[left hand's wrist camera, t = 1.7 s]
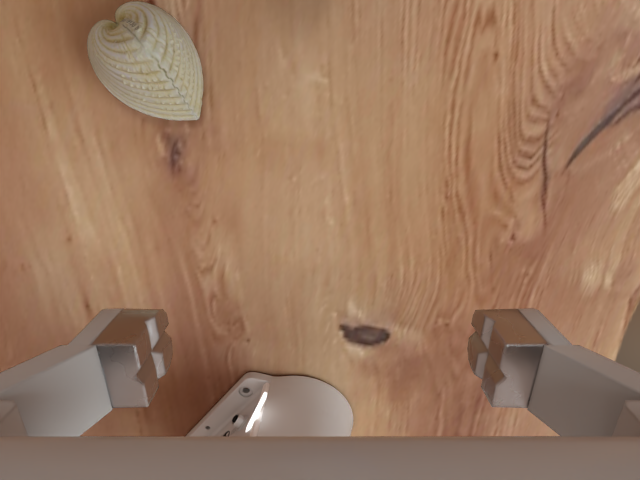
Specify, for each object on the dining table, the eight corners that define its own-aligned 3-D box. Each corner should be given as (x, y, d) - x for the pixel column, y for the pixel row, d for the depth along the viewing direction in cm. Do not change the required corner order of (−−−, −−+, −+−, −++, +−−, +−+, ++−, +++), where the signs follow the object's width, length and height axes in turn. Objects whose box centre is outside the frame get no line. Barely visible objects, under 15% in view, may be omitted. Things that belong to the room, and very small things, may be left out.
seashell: (138, -43, 29) (199, 18, 27) (183, 44, 37) (233, 96, 35) (45, 18, 28) (102, 86, 26) (112, 94, 36) (160, 150, 34)
